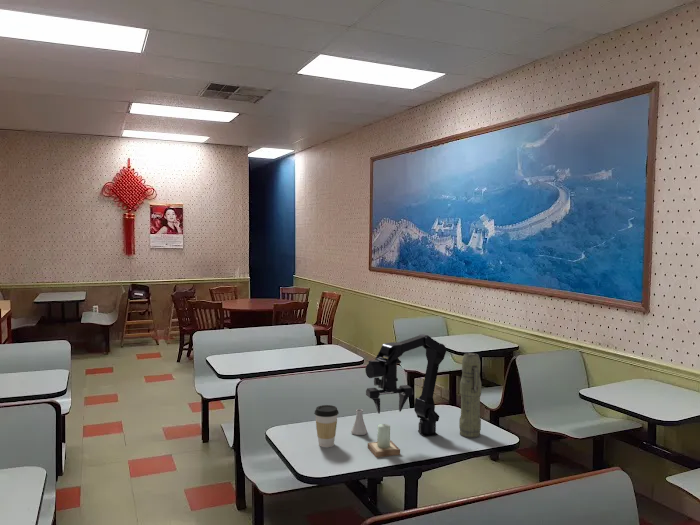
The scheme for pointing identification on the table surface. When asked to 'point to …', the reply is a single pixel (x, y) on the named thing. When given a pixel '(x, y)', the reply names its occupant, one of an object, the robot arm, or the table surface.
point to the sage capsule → (383, 436)
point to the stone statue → (470, 396)
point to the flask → (359, 424)
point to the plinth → (383, 450)
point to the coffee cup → (326, 424)
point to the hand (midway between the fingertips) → (389, 412)
